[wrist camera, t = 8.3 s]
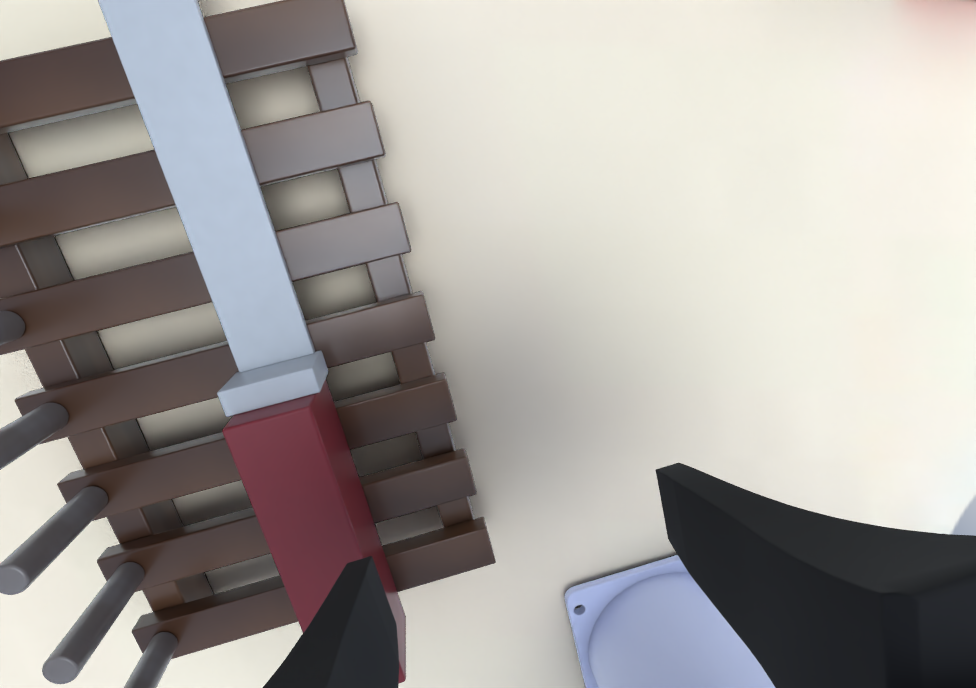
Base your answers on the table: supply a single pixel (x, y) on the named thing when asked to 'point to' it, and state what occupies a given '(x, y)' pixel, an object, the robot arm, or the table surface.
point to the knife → (251, 312)
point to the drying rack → (204, 371)
